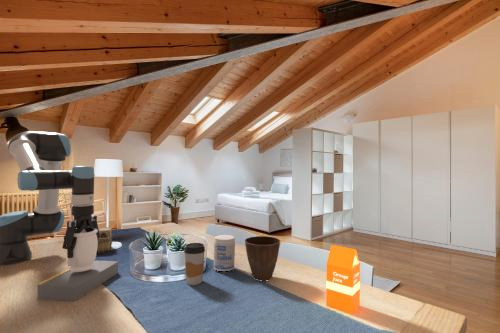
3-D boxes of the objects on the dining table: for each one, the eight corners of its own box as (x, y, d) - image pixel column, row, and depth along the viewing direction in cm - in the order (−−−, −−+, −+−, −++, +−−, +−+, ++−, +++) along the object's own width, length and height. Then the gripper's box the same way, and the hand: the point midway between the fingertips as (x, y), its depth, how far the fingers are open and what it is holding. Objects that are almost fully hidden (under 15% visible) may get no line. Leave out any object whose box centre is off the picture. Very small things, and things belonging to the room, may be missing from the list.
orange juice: (335, 297, 101) (335, 242, 101) (360, 305, 96) (360, 247, 96) (325, 305, 95) (326, 247, 95) (351, 314, 90) (352, 252, 90)
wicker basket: (85, 248, 159) (85, 228, 159) (112, 246, 164) (112, 226, 164) (79, 256, 145) (79, 234, 145) (109, 253, 150) (109, 232, 150)
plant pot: (238, 280, 115) (238, 242, 115) (254, 269, 129) (254, 234, 129) (271, 288, 108) (271, 247, 108) (284, 275, 122) (285, 238, 122)
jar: (83, 274, 104) (83, 234, 104) (59, 272, 106) (60, 232, 106) (103, 264, 115) (103, 228, 115) (81, 262, 117) (82, 226, 117)
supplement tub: (216, 274, 122) (217, 240, 122) (211, 267, 131) (211, 235, 131) (237, 271, 126) (237, 238, 126) (230, 264, 135) (231, 233, 135)
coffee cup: (208, 280, 116) (209, 244, 116) (196, 288, 108) (197, 249, 108) (192, 276, 119) (192, 241, 119) (179, 284, 112) (179, 246, 112)
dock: (88, 271, 124) (88, 259, 124) (118, 272, 123) (118, 260, 123) (37, 298, 98) (37, 283, 98) (74, 301, 97) (74, 285, 97)
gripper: (69, 209, 99) (69, 272, 99) (109, 201, 121) (109, 252, 122) (50, 209, 99) (49, 271, 100) (93, 201, 122) (93, 251, 122)
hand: (82, 260), depth 111 cm, fingers closed on jar, 10 cm apart
